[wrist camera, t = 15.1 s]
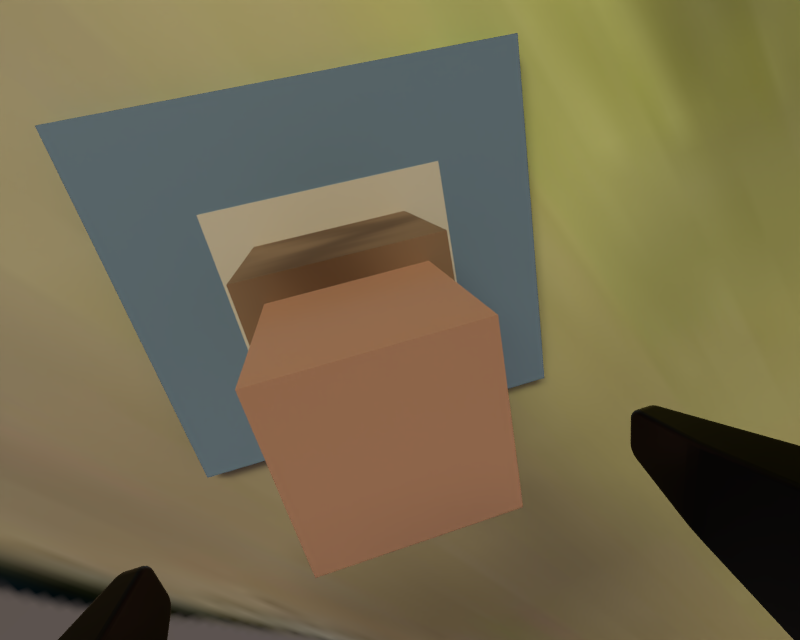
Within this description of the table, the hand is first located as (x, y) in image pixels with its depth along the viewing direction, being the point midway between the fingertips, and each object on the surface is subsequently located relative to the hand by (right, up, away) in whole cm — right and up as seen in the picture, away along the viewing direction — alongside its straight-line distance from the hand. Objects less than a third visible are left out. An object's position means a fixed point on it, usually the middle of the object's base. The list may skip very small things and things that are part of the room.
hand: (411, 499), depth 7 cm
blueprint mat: (-3, +5, +12) cm, 13 cm away
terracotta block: (-1, +2, +6) cm, 6 cm away
